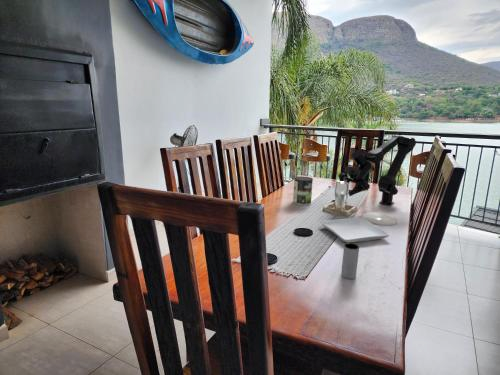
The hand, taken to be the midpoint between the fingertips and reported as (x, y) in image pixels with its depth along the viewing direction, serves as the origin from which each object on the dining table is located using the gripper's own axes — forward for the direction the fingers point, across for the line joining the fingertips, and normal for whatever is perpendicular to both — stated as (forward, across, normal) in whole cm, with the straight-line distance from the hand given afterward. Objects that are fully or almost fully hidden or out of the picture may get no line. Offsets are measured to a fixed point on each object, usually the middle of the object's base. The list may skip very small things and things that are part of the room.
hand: (343, 193), depth 162 cm
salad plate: (+19, +27, -5) cm, 33 cm away
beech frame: (+7, 0, +6) cm, 9 cm away
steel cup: (+8, 0, +6) cm, 9 cm away
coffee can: (+15, -19, -2) cm, 24 cm away
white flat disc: (+1, +18, +12) cm, 21 cm away
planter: (+37, +54, -23) cm, 69 cm away
